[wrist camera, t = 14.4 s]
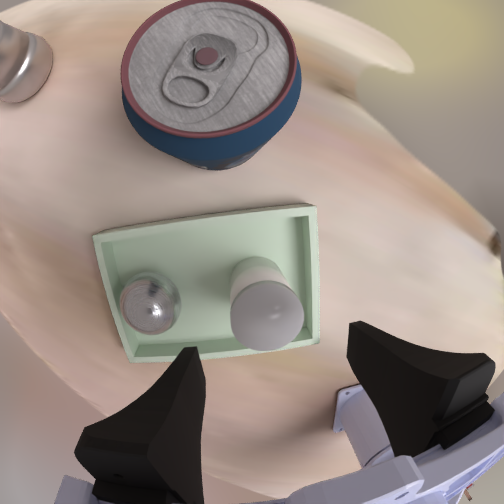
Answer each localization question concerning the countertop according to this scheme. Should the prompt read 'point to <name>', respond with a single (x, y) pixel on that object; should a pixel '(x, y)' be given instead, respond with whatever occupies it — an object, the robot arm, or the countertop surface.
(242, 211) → the tray
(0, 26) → the plastic bottle
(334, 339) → the countertop surface
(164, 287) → the ball
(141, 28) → the soda can
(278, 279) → the shaker
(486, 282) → the countertop surface
